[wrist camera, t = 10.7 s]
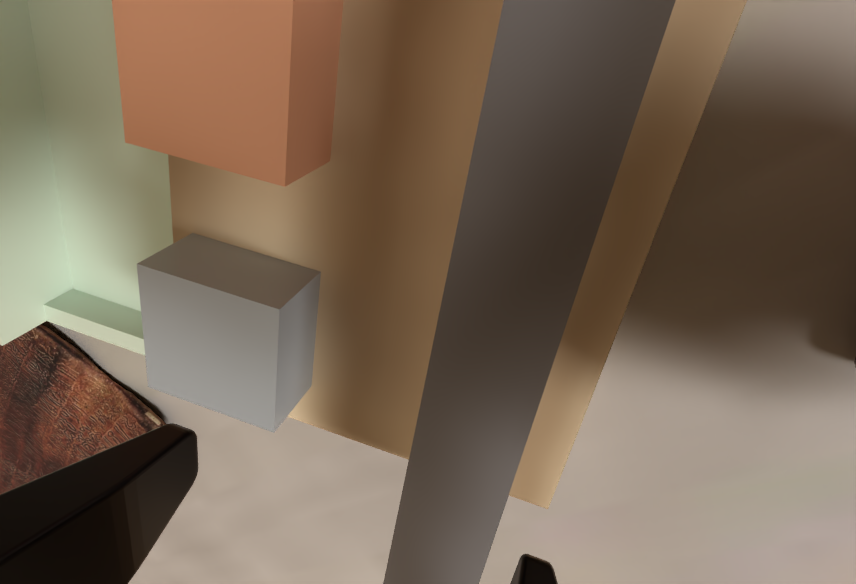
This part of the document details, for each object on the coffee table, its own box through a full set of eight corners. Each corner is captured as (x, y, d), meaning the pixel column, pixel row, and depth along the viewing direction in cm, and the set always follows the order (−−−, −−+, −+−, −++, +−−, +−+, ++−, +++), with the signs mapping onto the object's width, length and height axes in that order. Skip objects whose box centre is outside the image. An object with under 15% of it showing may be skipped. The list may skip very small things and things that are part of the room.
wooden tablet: (47, 648, 40) (-89, 574, 39) (71, 617, 42) (-58, 545, 41) (174, 446, 26) (-30, 321, 25) (200, 413, 28) (12, 295, 27)
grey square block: (321, 271, 18) (279, 309, 16) (311, 385, 20) (274, 432, 18) (192, 232, 19) (136, 264, 17) (197, 346, 21) (148, 387, 19)
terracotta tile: (345, -22, 14) (294, -24, 12) (330, 161, 16) (284, 186, 14) (181, -55, 15) (106, -63, 13) (188, 123, 17) (125, 142, 15)
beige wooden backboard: (737, -33, 14) (761, -38, 12) (557, 448, 22) (547, 509, 19) (224, -124, 17) (150, -144, 14) (227, 338, 24) (181, 378, 22)
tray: (224, -145, 16) (117, -181, 13) (227, 347, 25) (163, 405, 21) (-9, -185, 18) (-160, -226, 14) (69, 294, 26) (-14, 339, 23)
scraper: (669, -55, 12) (700, -75, 8) (495, 490, 20) (468, 614, 16) (550, -76, 12) (525, -105, 8) (426, 468, 20) (383, 584, 16)
